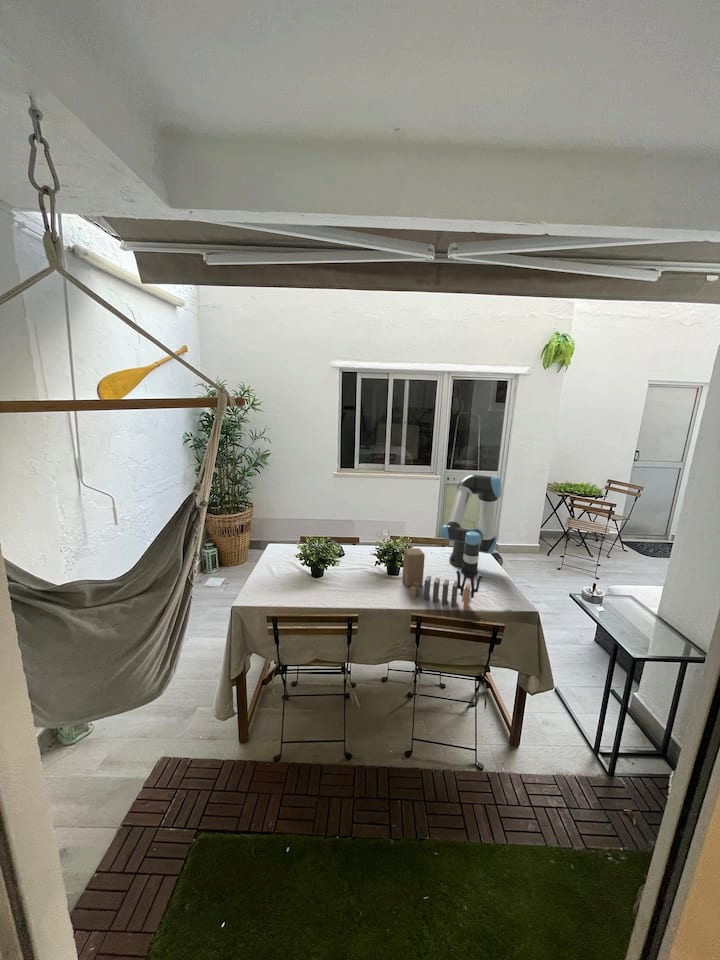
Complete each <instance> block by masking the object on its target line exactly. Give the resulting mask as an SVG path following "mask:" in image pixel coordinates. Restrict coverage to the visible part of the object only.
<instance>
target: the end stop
mask: <svg viewBox="0 0 720 960" xmlns="http://www.w3.org/2000/svg"><path fill="white" fill-rule="evenodd" d="M419 590H420V585H419V583H418V582H414V583H413V584H412V586H410V587H409V598H410V599H413V600H415V599H416V598H417V596H418V594H419V592H420V591H419Z"/></svg>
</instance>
